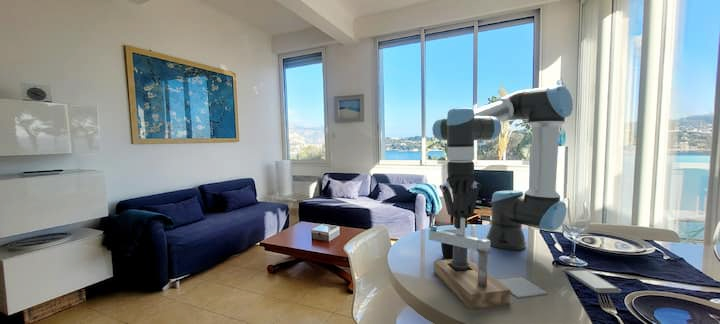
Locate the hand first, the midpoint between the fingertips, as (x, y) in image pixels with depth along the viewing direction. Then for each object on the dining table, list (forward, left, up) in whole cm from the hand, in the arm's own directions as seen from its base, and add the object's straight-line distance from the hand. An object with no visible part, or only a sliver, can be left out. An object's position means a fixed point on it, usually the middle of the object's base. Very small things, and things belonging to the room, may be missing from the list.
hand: (460, 238), depth 88 cm
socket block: (-3, 0, -15) cm, 16 cm away
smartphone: (-43, +5, -16) cm, 46 cm away
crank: (+2, +2, -1) cm, 3 cm away
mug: (-9, -21, -16) cm, 28 cm away
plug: (-3, -5, -15) cm, 16 cm away
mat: (-18, +4, -15) cm, 24 cm away
